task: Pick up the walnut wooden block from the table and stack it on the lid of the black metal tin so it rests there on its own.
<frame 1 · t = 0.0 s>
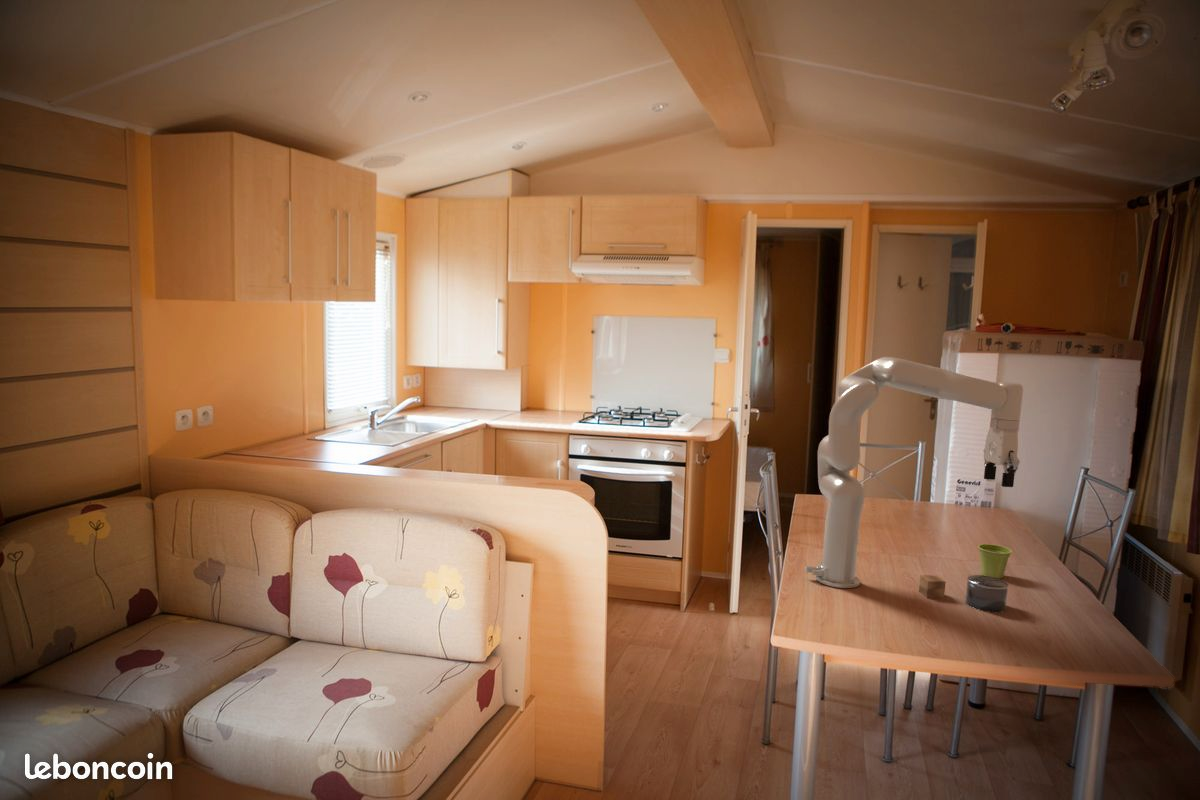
hand: (998, 482, 236), 31 cm above the table, tool pointing down, fingers open, 9 cm apart
walnut block: (931, 595, 229), on the table
black tin: (985, 605, 223), on the table
plant pot: (992, 576, 250), on the table
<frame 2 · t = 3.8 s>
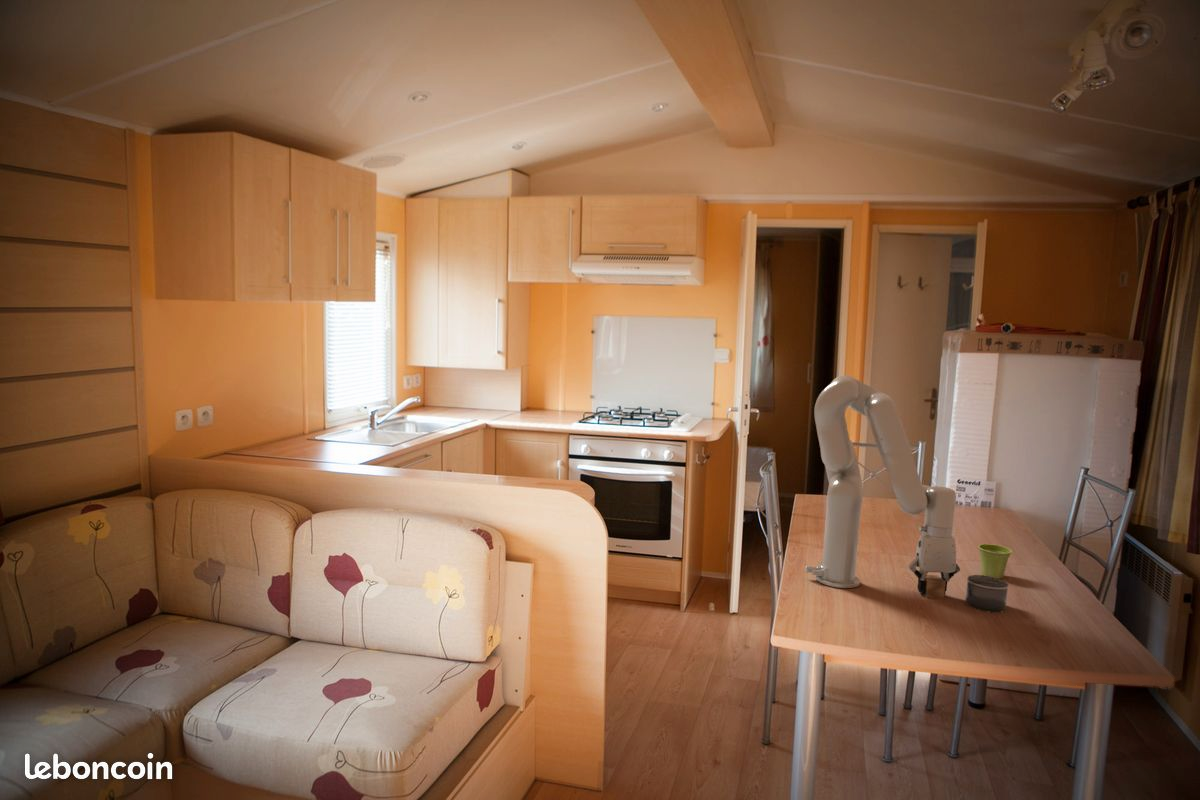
hand: (931, 592, 229), 1 cm above the table, tool pointing down, fingers closed on walnut block, 5 cm apart
walnut block: (931, 595, 229), on the table, touching gripper
everything else where it was.
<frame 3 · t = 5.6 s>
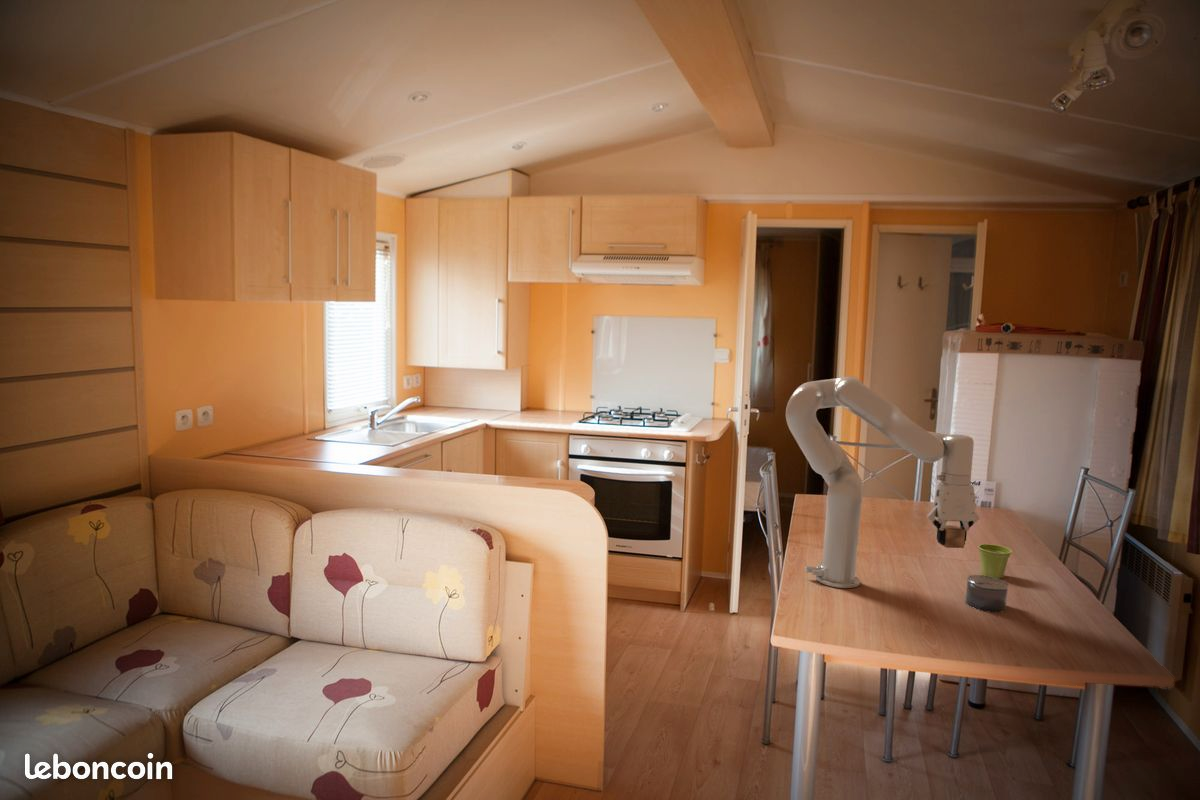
hand: (951, 542, 226), 16 cm above the table, tool pointing down, fingers closed on walnut block, 5 cm apart
walnut block: (950, 545, 226), point 15 cm above the table, touching gripper
everything else where it was.
when the fingers open (9 cm above the table, at t = 7.8 s): walnut block drops 1 cm, resting on black tin.
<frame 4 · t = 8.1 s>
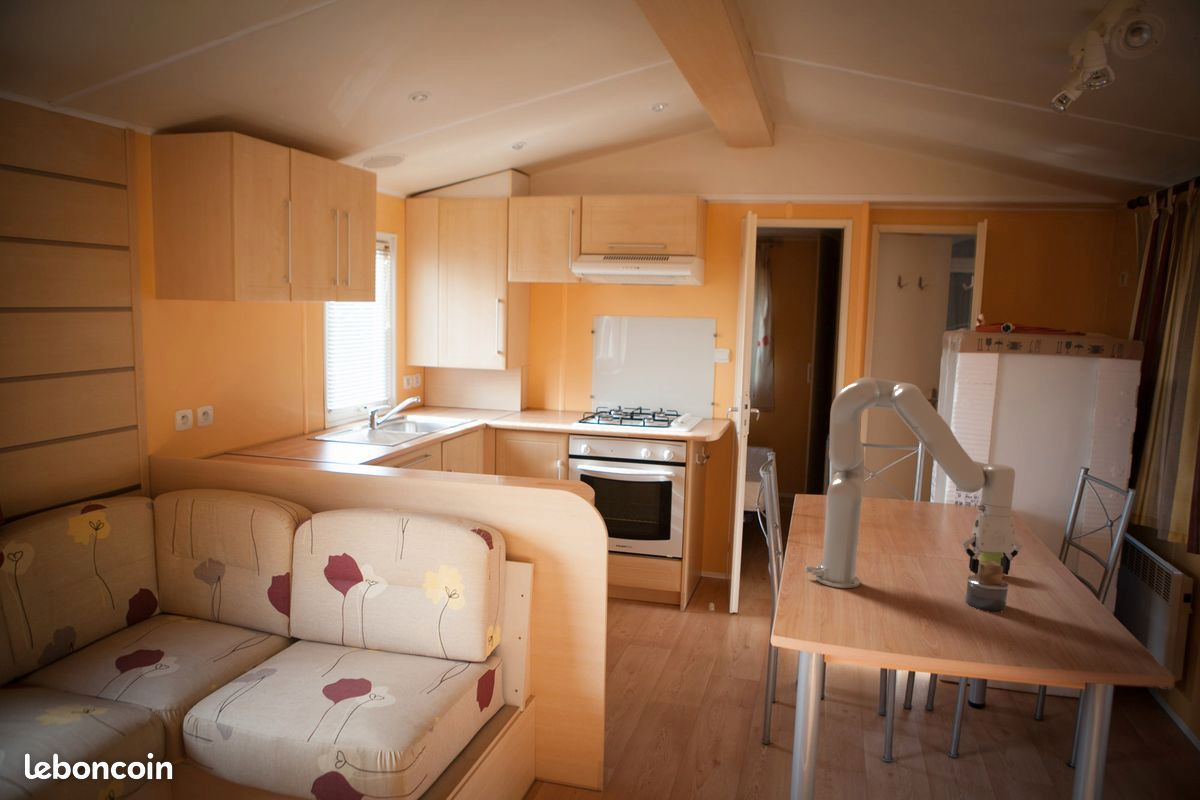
hand: (988, 572, 222), 9 cm above the table, tool pointing down, fingers open, 8 cm apart
walnut block: (987, 581, 222), point 7 cm above the table, touching black tin
black tin: (985, 605, 223), on the table, touching walnut block
everything else where it was.
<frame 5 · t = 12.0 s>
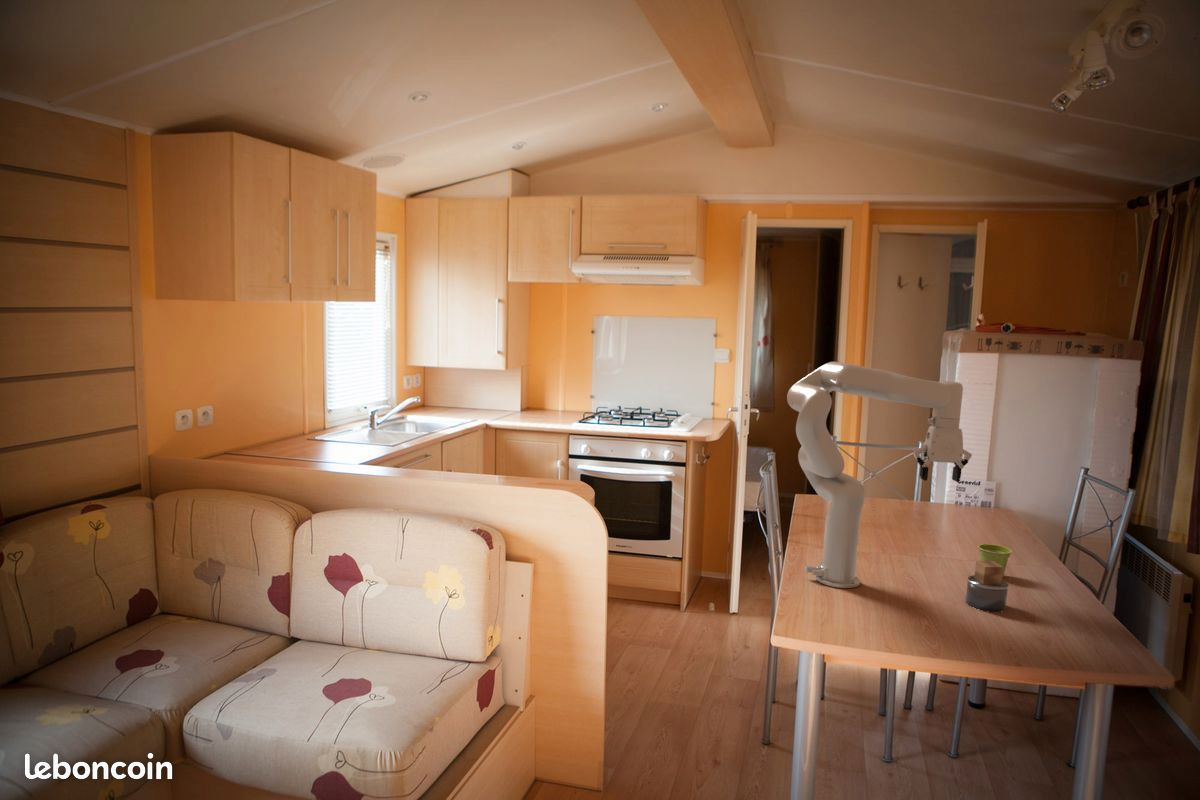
hand: (939, 480, 240), 30 cm above the table, tool pointing down, fingers open, 9 cm apart
nothing on the table moved.
at the end: walnut block 0.1 cm off-centre on the black tin, point 7.0 cm above the black tin's base; walnut block touching black tin; walnut block tilted 0° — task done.
